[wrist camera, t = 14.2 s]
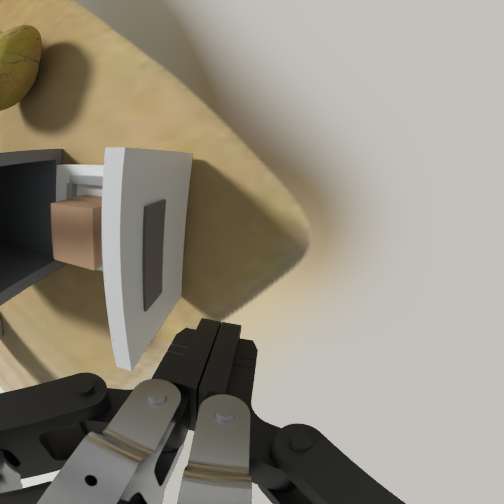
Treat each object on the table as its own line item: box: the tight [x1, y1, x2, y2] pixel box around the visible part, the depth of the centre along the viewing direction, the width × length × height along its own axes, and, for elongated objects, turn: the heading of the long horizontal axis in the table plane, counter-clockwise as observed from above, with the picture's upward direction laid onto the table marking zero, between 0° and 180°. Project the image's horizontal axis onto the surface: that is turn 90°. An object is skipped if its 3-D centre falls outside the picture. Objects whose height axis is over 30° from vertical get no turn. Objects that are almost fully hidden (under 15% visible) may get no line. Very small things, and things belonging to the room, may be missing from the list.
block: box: [51, 195, 103, 271], centre depth 21 cm, size 5×5×5 cm
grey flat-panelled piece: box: [56, 148, 193, 371], centre depth 19 cm, size 14×15×11 cm
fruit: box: [0, 25, 42, 111], centre depth 15 cm, size 11×12×10 cm
